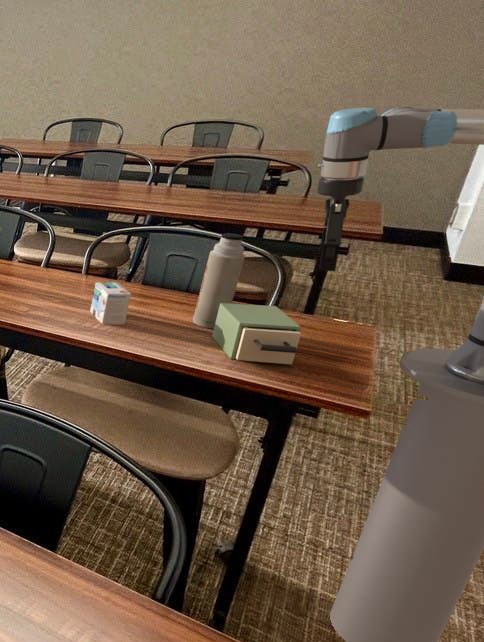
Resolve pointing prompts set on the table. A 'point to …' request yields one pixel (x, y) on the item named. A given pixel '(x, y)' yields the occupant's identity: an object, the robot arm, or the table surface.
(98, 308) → the light bulb box
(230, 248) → the thermos bottle
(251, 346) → the drawer
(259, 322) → the cabinet
